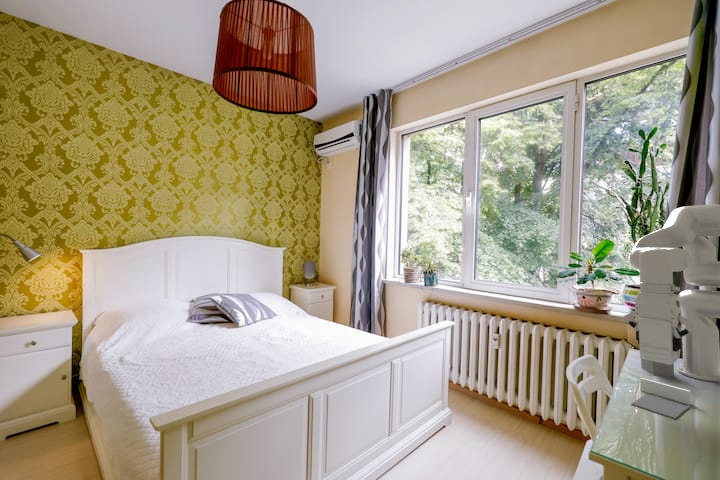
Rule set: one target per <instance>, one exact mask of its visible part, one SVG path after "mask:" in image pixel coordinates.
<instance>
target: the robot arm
mask: <svg viewBox="0 0 720 480" xmlns="http://www.w3.org/2000/svg"><path fill="white" fill-rule="evenodd" d="M706 237H720V203H710V204H701V205H700V204H699V205H687V206H681V207H678V208H675V209H674V210H672V212H671V213H670V214H669V216H668V218H667V220H666V222H665V223H664V225H663V226H662V228H660V229H658V230H655V231H653V232H651V233H649V234H646V235H644V236H642V237H641V238H639V239H638V240H637V241H636V242H635V244H634V246H633V247H632V249H631V251H630V254H629V262H630V264H631V266H632V268H634V269H635V270H639V291H637V294H636V298H635V306H634V310H633V311H631V312H629V313H627V314H625V315H624V316H623V318H624V319H625V320H626V321H627V322H628V325H630V327H632V328H633V330H634V331H635V339H636V341H637V344H638V345H640V343H639V322H638V318H640V317H642V318H650V319H657V320H664V321H670V322H671V328H672V333H673V335H674V337H673V338H672V341H673V351H675V352H677V353H678V351H679V352H680V350H681V349H682V365H679V366H678V367H677V371H678V372H679V373H680V374H682V375H684V376H687V377H690V378H691V379H692V378H694V379H696V380H700V381H708V382H715V383H716V382H720V330H719V328H718V326H717V325H716V324H715V322H713V321H712V319H711V318H715V319H716V318H717V319H720V291H717V290H708V289H707V290H706V289H705V290H704V289H694V288H693V289H685V290H682V291H681V287H680V286H676V285H675V284H674V273H675V272H682V271H683V272H682V273H683V279H684V282H685V283H686V284H689V285H691V286H697V287H707V288H720V260H719V261H718V260H717V248H716V247H715V245H714V244H713V243H712V241H710V240H709V239H708V238H706ZM681 247H682V248H681ZM675 292H679V293H678V294H675ZM633 317H634V319H633ZM679 327H681V329H680V328H679Z"/></svg>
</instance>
